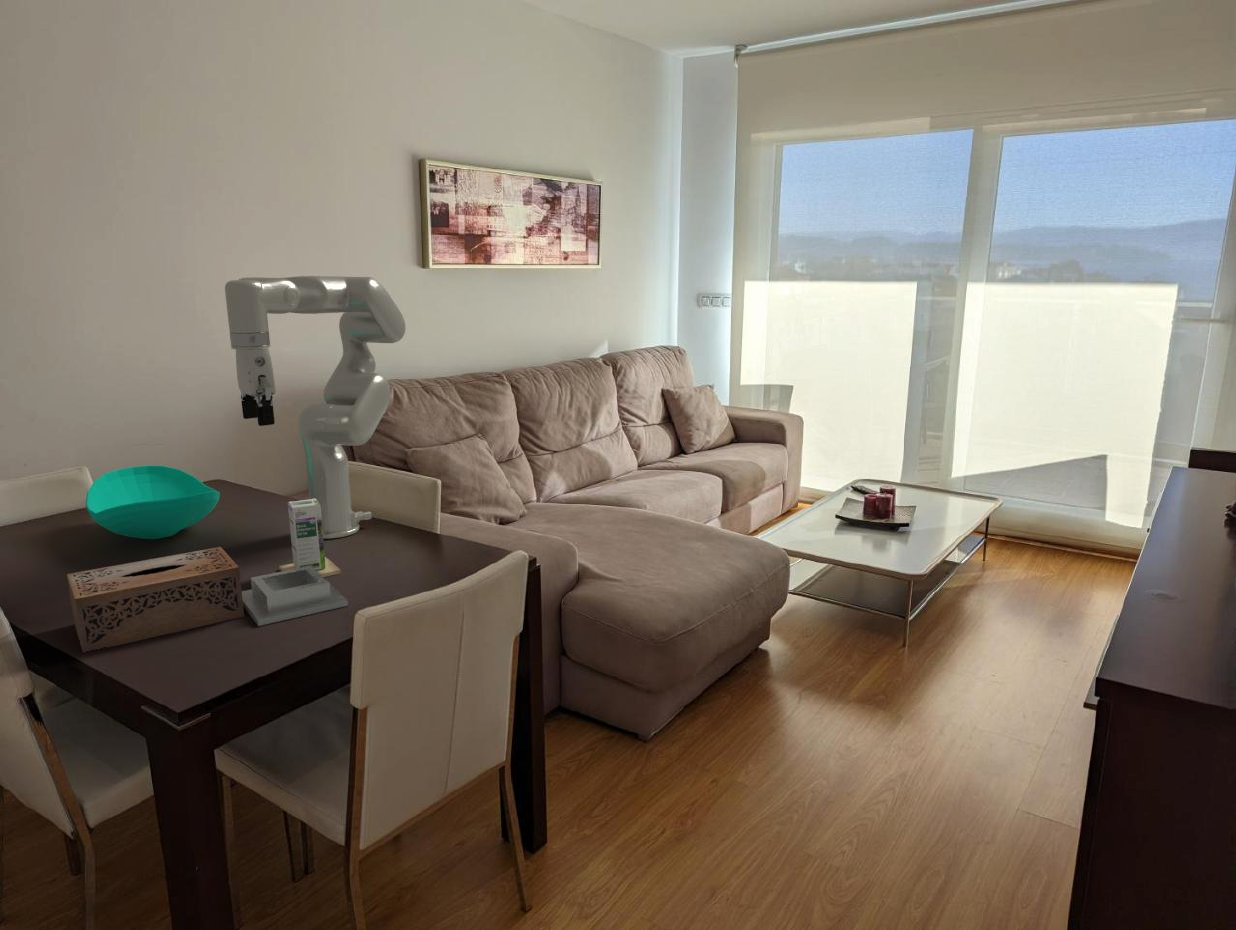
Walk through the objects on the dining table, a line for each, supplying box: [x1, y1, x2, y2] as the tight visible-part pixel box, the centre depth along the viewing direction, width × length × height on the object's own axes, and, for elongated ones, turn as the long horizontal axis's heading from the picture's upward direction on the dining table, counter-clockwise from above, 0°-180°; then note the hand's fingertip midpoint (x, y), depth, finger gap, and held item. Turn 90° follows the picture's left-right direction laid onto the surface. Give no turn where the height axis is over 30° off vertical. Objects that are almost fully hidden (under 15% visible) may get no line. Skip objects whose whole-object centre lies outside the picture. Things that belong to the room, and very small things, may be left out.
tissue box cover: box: [66, 546, 245, 652], centre depth 156 cm, size 26×14×10 cm, turn 127°
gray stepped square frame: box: [242, 566, 349, 627], centre depth 166 cm, size 16×16×4 cm
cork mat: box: [278, 556, 342, 578], centre depth 183 cm, size 10×10×1 cm
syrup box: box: [287, 498, 326, 570], centre depth 181 cm, size 6×6×14 cm
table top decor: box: [85, 464, 221, 540], centre depth 205 cm, size 40×28×13 cm
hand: (258, 421), depth 182 cm, fingers open, 9 cm apart
